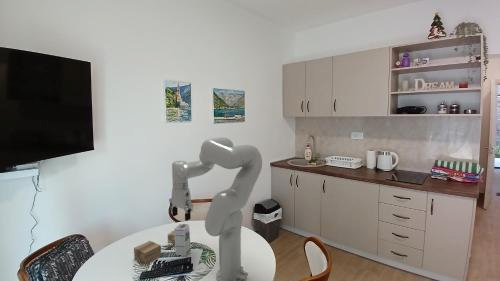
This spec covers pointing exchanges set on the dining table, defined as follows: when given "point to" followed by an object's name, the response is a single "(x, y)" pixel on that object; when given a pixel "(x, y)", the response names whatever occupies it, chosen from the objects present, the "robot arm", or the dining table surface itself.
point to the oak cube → (171, 237)
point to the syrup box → (182, 239)
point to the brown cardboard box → (147, 252)
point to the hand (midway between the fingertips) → (181, 217)
